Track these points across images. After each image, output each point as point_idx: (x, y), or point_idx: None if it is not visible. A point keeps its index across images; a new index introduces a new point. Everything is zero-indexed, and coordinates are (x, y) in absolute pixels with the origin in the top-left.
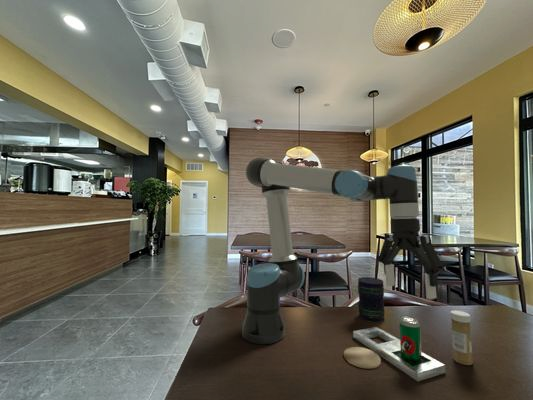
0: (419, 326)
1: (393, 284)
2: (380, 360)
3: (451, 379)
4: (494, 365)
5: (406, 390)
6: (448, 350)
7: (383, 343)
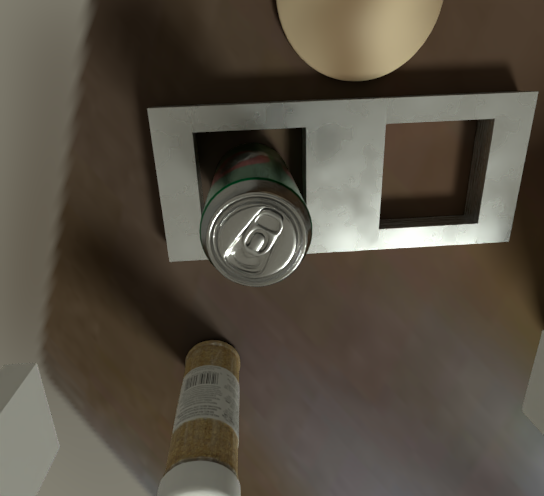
0: (207, 255)
1: (534, 405)
2: (301, 55)
3: (139, 236)
4: (170, 420)
5: (117, 10)
6: (277, 375)
7: (378, 153)
